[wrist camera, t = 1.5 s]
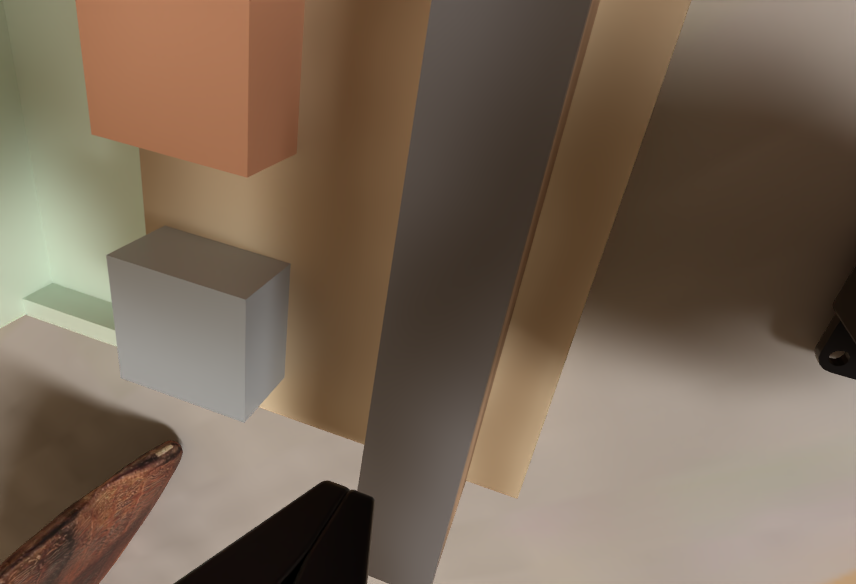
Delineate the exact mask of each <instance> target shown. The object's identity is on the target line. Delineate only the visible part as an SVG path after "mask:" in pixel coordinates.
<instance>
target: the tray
mask: <svg viewBox="0 0 856 584" xmlns="http://www.w3.org/2000/svg"><path fill="white" fill-rule="evenodd" d="M145 235H146V228H145V216H144V204H143V191H142V179H141V167H140V155H139V147H135V146H131V145H128V144H124V143H121V142H117V141H113V140H110V139H106V138H103V137H99V136H96V135H92V134H91V126H90V118H89V110H88V101H87V93H86V85H85V77H84V68H83V60H82V52H81V43H80V35H79V27H78V19H77V10H76V2H75V0H0V328H2V327H4V326H6V325H7V324H9V323H11V322H13V321H15V320H17V319H19V318H20V317H22V316H24V315H28V316H31V317H34V318H36V319H39V320H42V321H45V322H48V323H51V324H53V325H56V326H59V327H62V328H65V329H68V330H71V331H73V332H76V333H79V334H82V335H85V336H88V337H91V338H93V339H96V340H99V341H102V342H105V343H108V344H111V345H113V346H116V347H117V341H116V333H115V325H114V316H113V308H112V300H111V292H110V283H109V275H108V267H107V259H106V255H107V254H109V253H111V252H113V251H115V250H117V249H119V248H121V247H123V246H125V245H127V244H129V243H131V242H133V241H135V240H137V239H139V238H141V237H143V236H145Z"/></svg>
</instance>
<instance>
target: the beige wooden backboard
mask: <svg viewBox="0 0 856 584" xmlns="http://www.w3.org/2000/svg"><path fill="white" fill-rule="evenodd" d="M431 1H432V0H305V8H304V27H303V45H302V64H301V82H300V100H299V119H298V137H297V154H295V155H293V156H291V157H289V158H287V159H284V160H282V161H280V162H278V163H276V164H274V165H272V166H270V167H268V168H266V169H264V170H262V171H260V172H258V173H256V174H254V175H252V176H250V177H248V178H246V177H243V176H239V175H236V174H232V173H229V172H225V171H221V170H218V169H214V168H211V167H207V166H203V165H200V164H196V163H193V162H189V161H185V160H182V159H178V158H175V157H171V156H167V155H164V154H160V153H157V152H153V151H149V150H146V149H142V148H139V155H140V167H141V179H142V191H143V204H144V216H145V228H146V235H147V234H149V233H151V232H153V231H155V230H157V229H159V228H161V227H163V226H168V227H172V228H175V229H178V230H181V231H185V232H188V233H191V234H195V235H198V236H201V237H205V238H208V239H211V240H214V241H218V242H221V243H224V244H228V245H231V246H234V247H238V248H241V249H244V250H247V251H251V252H254V253H257V254H261V255H264V256H267V257H271V258H274V259H277V260H281V261H284V262H287V263H290V264H291V266H290V284H289V303H288V321H287V339H286V358H285V376H284V379H283V380H282V381H281V382H280V383H279V384H278V385H277V387H276V388H275V389H274V390H273V391H272V392H271V393H270V394H269V396H268V397H267V398H266V399H265V400H264V401H263V402H262V403H261V405H260V406H259V407H260V408H263V409H265V410H268V411H271V412H274V413H277V414H279V415H282V416H285V417H288V418H291V419H294V420H296V421H299V422H302V423H305V424H308V425H311V426H313V427H316V428H319V429H322V430H325V431H327V432H330V433H333V434H336V435H339V436H342V437H344V438H347V439H350V440H353V441H356V442H358V443H361V444H365V438H366V431H367V424H368V418H369V411H370V404H371V398H372V391H373V385H374V378H375V371H376V365H377V358H378V352H379V345H380V338H381V332H382V325H383V318H384V312H385V305H386V299H387V292H388V285H389V279H390V272H391V265H392V259H393V252H394V246H395V239H396V232H397V226H398V219H399V212H400V206H401V199H402V193H403V186H404V179H405V173H406V166H407V159H408V153H409V146H410V140H411V133H412V126H413V120H414V113H415V106H416V100H417V93H418V87H419V80H420V73H421V67H422V60H423V53H424V47H425V40H426V34H427V27H428V20H429V14H430V7H431ZM690 3H691V0H600V3H599V7H598V11H597V14H596V18H595V21H594V25H593V28H592V32H591V36H590V39H589V43H588V46H587V50H586V53H585V57H584V61H583V64H582V68H581V71H580V75H579V78H578V82H577V86H576V89H575V93H574V96H573V100H572V103H571V107H570V111H569V114H568V118H567V121H566V125H565V128H564V132H563V136H562V139H561V143H560V146H559V150H558V153H557V157H556V161H555V164H554V168H553V171H552V175H551V178H550V182H549V186H548V189H547V193H546V196H545V200H544V203H543V207H542V211H541V214H540V218H539V221H538V225H537V228H536V232H535V236H534V239H533V243H532V246H531V250H530V254H529V257H528V261H527V264H526V268H525V271H524V275H523V279H522V282H521V286H520V289H519V293H518V296H517V300H516V304H515V307H514V311H513V314H512V318H511V321H510V325H509V329H508V332H507V336H506V339H505V343H504V346H503V350H502V354H501V357H500V361H499V364H498V368H497V371H496V375H495V379H494V382H493V386H492V389H491V393H490V396H489V400H488V404H487V407H486V411H485V414H484V418H483V421H482V425H481V429H480V432H479V436H478V439H477V443H476V446H475V450H474V454H473V457H472V461H471V464H470V468H469V471H468V475H467V479H466V481H469V482H471V483H474V484H477V485H480V486H483V487H485V488H488V489H491V490H494V491H497V492H500V493H502V494H505V495H508V496H511V497H514V498H518V495H519V492H520V489H521V487H522V484H523V481H524V478H525V475H526V472H527V469H528V466H529V464H530V461H531V458H532V455H533V452H534V449H535V446H536V444H537V441H538V438H539V435H540V432H541V429H542V426H543V424H544V421H545V418H546V415H547V412H548V409H549V406H550V404H551V401H552V398H553V395H554V392H555V389H556V386H557V383H558V381H559V378H560V375H561V372H562V369H563V366H564V363H565V361H566V358H567V355H568V352H569V349H570V346H571V343H572V341H573V338H574V335H575V332H576V329H577V326H578V323H579V320H580V318H581V315H582V312H583V309H584V306H585V303H586V300H587V298H588V295H589V292H590V289H591V286H592V283H593V280H594V278H595V275H596V272H597V269H598V266H599V263H600V260H601V257H602V255H603V252H604V249H605V246H606V243H607V240H608V237H609V235H610V232H611V229H612V226H613V223H614V220H615V217H616V215H617V212H618V209H619V206H620V203H621V200H622V197H623V195H624V192H625V189H626V186H627V183H628V180H629V177H630V174H631V172H632V169H633V166H634V163H635V160H636V157H637V154H638V152H639V149H640V146H641V143H642V140H643V137H644V134H645V132H646V129H647V126H648V123H649V120H650V117H651V114H652V111H653V109H654V106H655V103H656V100H657V97H658V94H659V91H660V89H661V86H662V83H663V80H664V77H665V74H666V71H667V69H668V66H669V63H670V60H671V57H672V54H673V51H674V48H675V46H676V43H677V40H678V37H679V34H680V31H681V28H682V26H683V23H684V20H685V17H686V14H687V11H688V8H689V6H690Z"/></svg>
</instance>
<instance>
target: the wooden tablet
mask: <svg viewBox="0 0 856 584" xmlns="http://www.w3.org/2000/svg"><path fill="white" fill-rule="evenodd" d="M182 453H183V451H182V448H181V445H180V444H179V443H178V442H176V441H171V440H170V441H167V442H164V443H163V444H161V445H159V446H158V447H156V448H154V449H153V450H151V451H149V452H147V453H145V454H144V455H142V456H141V457H139V458H138V459H136V460H135V461H133V462H132V463H130V464H129V465H127V466H126V467H124V468H123V469H121V470H120V471H119V472H117V473H116V474H115V475H113V476H112V477H111V478H110V479H108V480H107V481H106V482H104V483H103V484H102V485H100V486H99V487H97V488H96V489H94V490H93V491H91V492H89V493H88V494H87V495H85V496H84V497H83V498H81V499H80V500H78V501H77V502H75V503H73V504H72V505H71V506H70V507H68V508H67V509H66V510H64V511H63V512H62V513H61V514H60V515H58V516H57V517H56V518H55V519H54V520H52V521H51V522H50V523H49V524H48V525H46V526H45V527H44V528H43V529H42V530H41V531H39V532H38V533H37V534H36V535H34V536H33V537H32V538H31V539H29V540H28V541H27V542H26V543H25V544H23V545H22V546H21V547H20V548H19V549H17V550H16V551H15V552H14V553H13V554H12V555H11V556H9V557H8V558H7V559H6V560H5V561H4V562H3V563H2V564H1V565H0V584H99V583H100V581H101V580H102V579H103V578H104V576H105V575H106V574H107V573H108V571H109V570H110V569H111V567H112V566H113V565H114V563H115V562H116V561H117V559H118V558H119V557H120V555H121V554H122V552H123V551H124V549H125V548H126V547H127V545H128V544H129V542H130V541H131V539H132V538H133V536H134V535H135V533H136V532H137V530H138V529H139V528H140V526H141V525H142V523H143V522H144V520H145V519H146V517H147V516H148V514H149V513H150V511H151V510H152V508H153V507H154V505H155V503H156V502H157V500H158V499H159V497H160V495H161V494H162V492H163V490H164V489H165V487H166V485H167V483H168V482H169V480H170V478H171V476H172V475H173V473H174V471H175V470H176V468H177V466H178V464H179V462H180V460H181V457H182Z"/></svg>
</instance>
